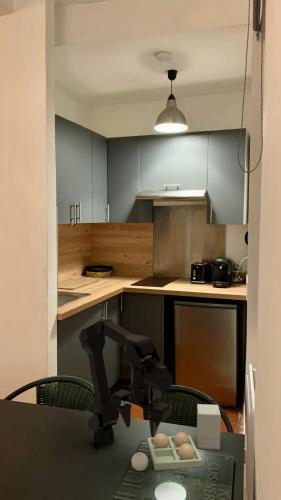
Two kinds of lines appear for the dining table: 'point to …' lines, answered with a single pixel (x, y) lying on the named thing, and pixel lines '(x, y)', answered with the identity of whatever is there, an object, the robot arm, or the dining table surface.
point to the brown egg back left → (160, 441)
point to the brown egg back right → (181, 439)
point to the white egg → (139, 461)
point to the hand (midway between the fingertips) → (140, 432)
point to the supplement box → (208, 426)
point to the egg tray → (172, 456)
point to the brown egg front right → (186, 452)
